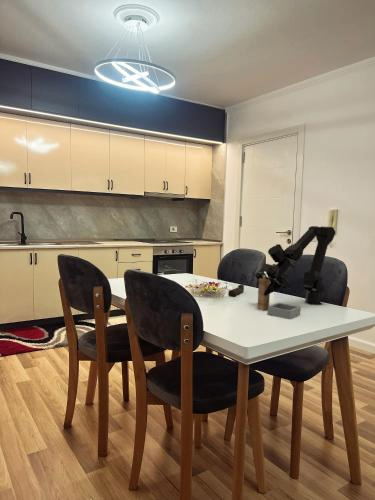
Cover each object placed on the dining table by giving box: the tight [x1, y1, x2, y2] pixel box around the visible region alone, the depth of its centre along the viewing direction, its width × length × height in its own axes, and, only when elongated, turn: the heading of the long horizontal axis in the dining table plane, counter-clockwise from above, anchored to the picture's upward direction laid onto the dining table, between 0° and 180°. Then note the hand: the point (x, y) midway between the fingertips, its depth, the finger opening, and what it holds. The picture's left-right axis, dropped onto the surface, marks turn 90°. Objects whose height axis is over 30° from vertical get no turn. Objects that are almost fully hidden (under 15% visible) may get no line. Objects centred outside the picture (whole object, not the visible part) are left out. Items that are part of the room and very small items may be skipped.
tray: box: [267, 302, 302, 320], centre depth 163 cm, size 10×10×4 cm
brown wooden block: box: [257, 278, 271, 311], centre depth 172 cm, size 4×4×14 cm
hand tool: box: [227, 283, 245, 298], centre depth 206 cm, size 19×4×5 cm, turn 150°
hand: (261, 294), depth 171 cm, fingers closed on brown wooden block, 4 cm apart
